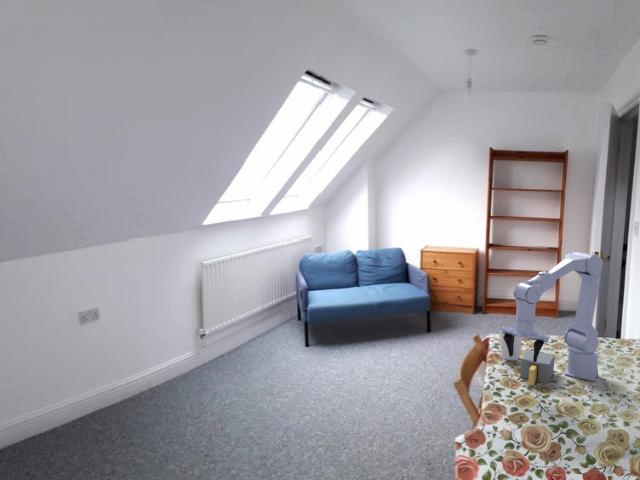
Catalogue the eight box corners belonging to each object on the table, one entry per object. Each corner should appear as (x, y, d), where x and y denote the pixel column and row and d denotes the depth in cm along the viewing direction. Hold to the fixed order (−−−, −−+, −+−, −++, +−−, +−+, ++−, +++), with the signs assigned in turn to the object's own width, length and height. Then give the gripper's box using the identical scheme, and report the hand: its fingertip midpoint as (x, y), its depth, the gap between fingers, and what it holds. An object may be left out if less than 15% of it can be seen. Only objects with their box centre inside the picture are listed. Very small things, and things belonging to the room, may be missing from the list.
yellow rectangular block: (539, 374, 170) (540, 360, 169) (533, 385, 162) (534, 370, 161) (534, 373, 170) (535, 359, 170) (528, 384, 162) (529, 369, 162)
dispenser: (553, 372, 172) (554, 354, 170) (547, 384, 163) (548, 365, 162) (526, 367, 177) (527, 349, 176) (519, 377, 168) (520, 359, 167)
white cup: (522, 362, 181) (524, 336, 180) (500, 360, 183) (501, 335, 181) (518, 353, 189) (519, 329, 187) (497, 352, 190) (498, 328, 189)
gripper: (499, 318, 159) (497, 357, 162) (545, 327, 151) (543, 367, 153) (505, 313, 165) (503, 350, 167) (551, 321, 156) (548, 360, 158)
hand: (522, 358), depth 160 cm, fingers open, 7 cm apart
